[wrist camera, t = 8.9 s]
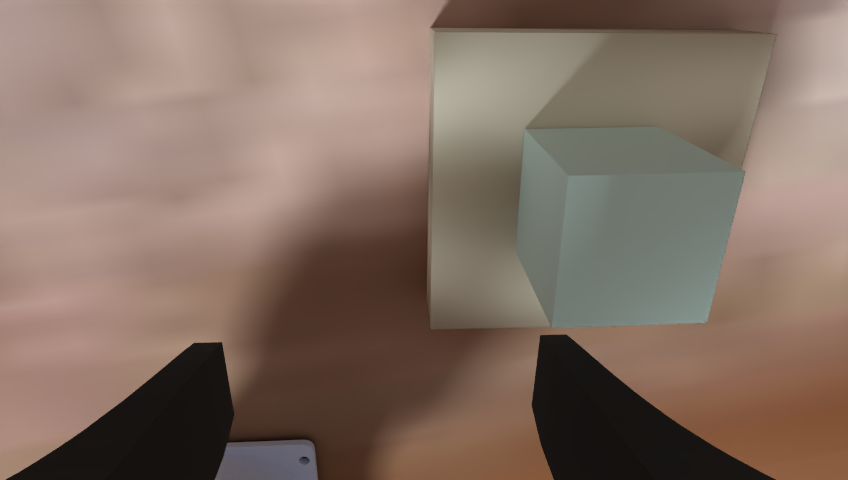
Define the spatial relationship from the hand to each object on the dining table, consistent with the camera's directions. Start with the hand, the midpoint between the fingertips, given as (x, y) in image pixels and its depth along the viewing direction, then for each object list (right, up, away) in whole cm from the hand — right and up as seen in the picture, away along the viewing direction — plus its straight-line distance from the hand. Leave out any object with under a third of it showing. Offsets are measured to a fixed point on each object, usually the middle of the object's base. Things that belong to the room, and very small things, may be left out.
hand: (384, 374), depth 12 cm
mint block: (+7, +5, +7) cm, 11 cm away
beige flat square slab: (+6, +6, +10) cm, 13 cm away
